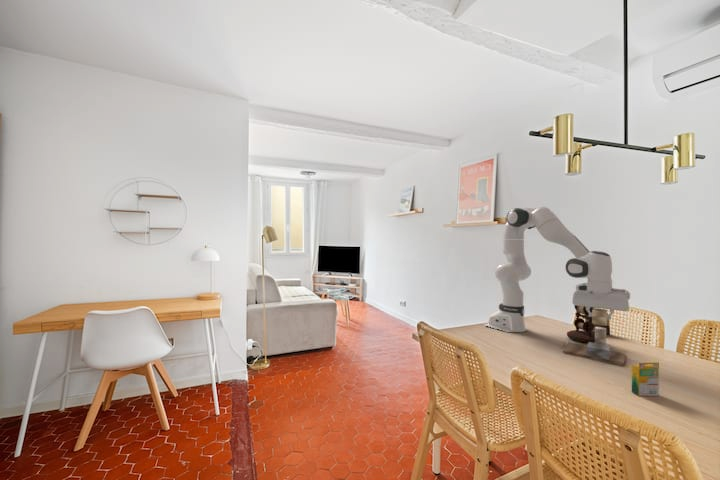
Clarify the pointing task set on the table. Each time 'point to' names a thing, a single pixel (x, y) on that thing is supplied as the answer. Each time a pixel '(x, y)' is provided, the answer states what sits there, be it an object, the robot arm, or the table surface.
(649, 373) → the crayon box
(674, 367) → the table surface
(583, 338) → the dark brown rounded figure
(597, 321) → the maple block
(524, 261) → the robot arm
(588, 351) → the building board
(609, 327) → the ammunition clip
